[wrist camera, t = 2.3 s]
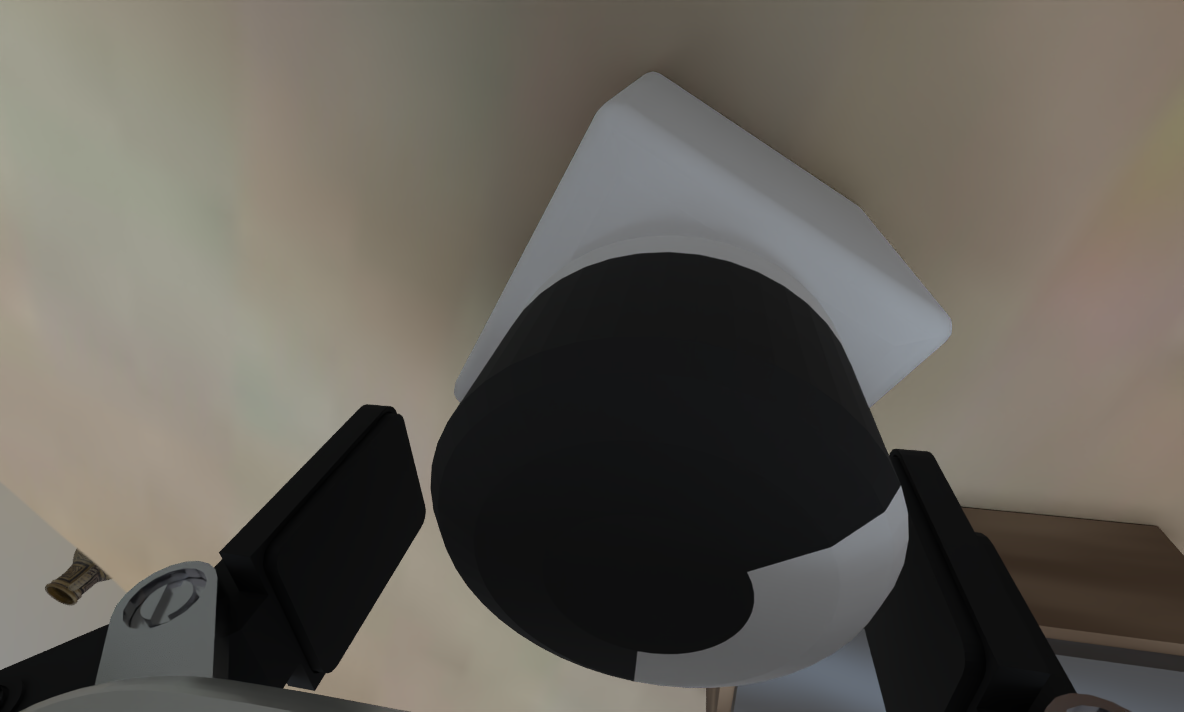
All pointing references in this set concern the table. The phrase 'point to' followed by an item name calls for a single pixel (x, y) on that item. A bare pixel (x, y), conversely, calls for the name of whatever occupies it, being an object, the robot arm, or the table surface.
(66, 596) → the brown patterned vase
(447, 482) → the medicine bottle
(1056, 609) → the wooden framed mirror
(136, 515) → the table surface
